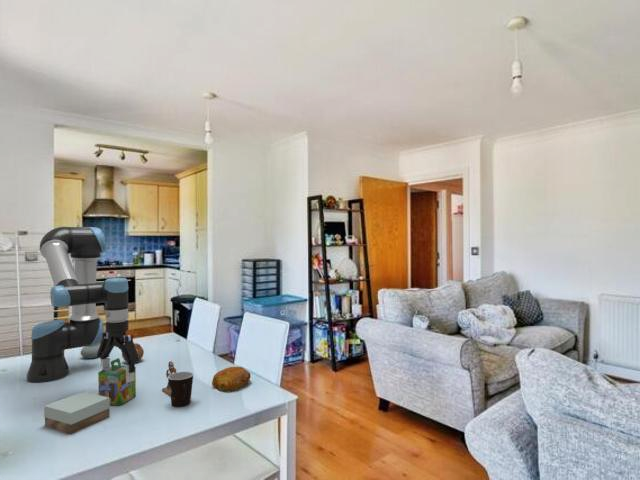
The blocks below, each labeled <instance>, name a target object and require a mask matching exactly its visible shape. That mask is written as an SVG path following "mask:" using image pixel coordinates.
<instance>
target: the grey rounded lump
mask: <svg viewBox="0 0 640 480" xmlns="http://www.w3.org/2000/svg"><path fill="white" fill-rule="evenodd" d="M100 344H101V341H100V342H99V343H97V344H94V345H90V346H83V347H82V348H81V350H80V355H81V356H82V357H83V358H85V359H95V358H96V359H97V358H99V357H98V356H97V353H98V350H99V347H100ZM101 353H102V352H101Z"/></svg>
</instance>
